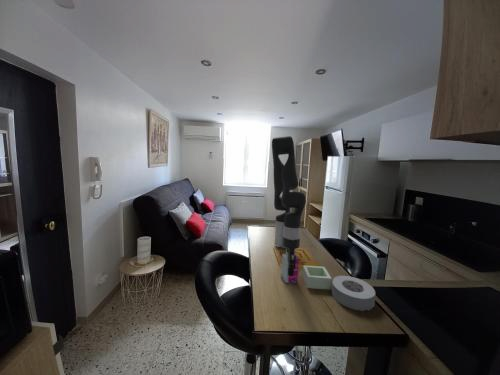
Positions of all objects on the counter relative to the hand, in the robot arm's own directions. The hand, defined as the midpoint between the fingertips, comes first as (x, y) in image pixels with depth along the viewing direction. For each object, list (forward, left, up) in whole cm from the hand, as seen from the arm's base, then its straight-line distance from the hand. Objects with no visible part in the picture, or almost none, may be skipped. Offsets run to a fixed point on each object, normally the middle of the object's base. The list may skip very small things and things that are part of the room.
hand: (289, 271), depth 88 cm
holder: (0, +12, -4) cm, 13 cm away
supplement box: (0, 0, -5) cm, 5 cm away
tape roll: (+9, +24, -5) cm, 26 cm away
